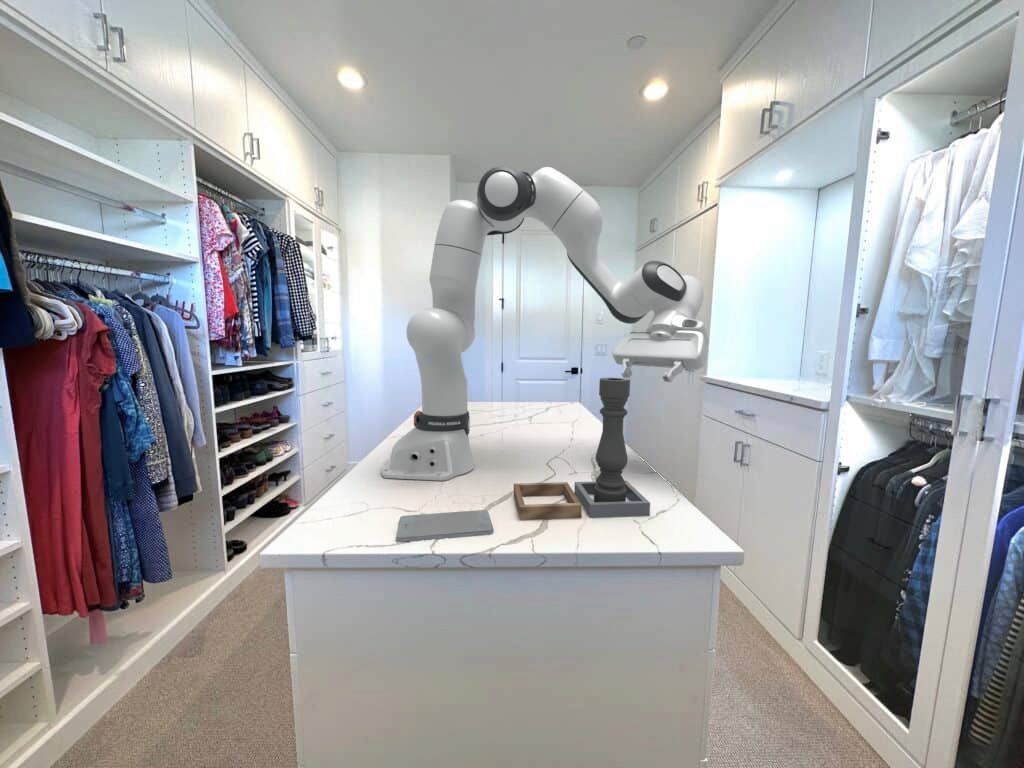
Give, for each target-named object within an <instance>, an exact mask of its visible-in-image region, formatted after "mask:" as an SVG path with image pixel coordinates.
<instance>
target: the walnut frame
mask: <svg viewBox="0 0 1024 768" xmlns="http://www.w3.org/2000/svg"><path fill="white" fill-rule="evenodd" d="M554 496H555V497H558V496H559V497H560V496H561V497H562V496H563V498H564V499H565V501H566V503H559V502H558V503H535V504H533V503H531V504H525V501H524V498H525V497H528V498H529V497H554ZM513 499H514V503H515V507H516V511H517V514H518V519H519V521H537V520H538V521H539V520H567V519H582V517H583V516H582V511H583V506H582V504H581V503H580V501H579V500H578V498H577V497H576V495H575V493H574V490H573V488H572V487H571V486H570V484H569V482H567V481H564V482H563V481H559V482H555V481H554V482H525V483H524V482H523V483H522V482H519V483H518V482H517V483H516V482H515V483H513Z"/></svg>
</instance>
